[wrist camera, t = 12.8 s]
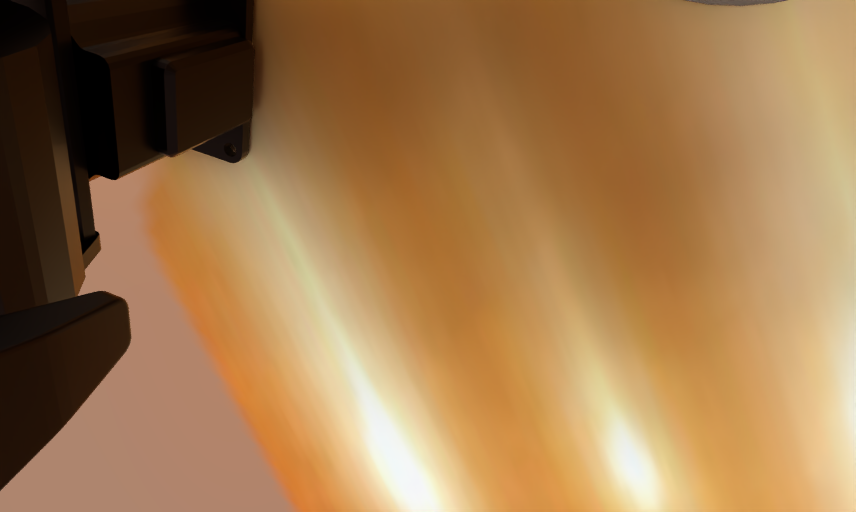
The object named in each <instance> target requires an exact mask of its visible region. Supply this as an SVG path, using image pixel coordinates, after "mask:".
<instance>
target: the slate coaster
mask: <svg viewBox="0 0 856 512" xmlns="http://www.w3.org/2000/svg"><path fill="white" fill-rule="evenodd" d="M687 1H692V2H698V3H703V4H711V5H735V6H744V5H755V4H767V3H776V2H781V1H786V0H687Z"/></svg>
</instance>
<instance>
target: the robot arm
mask: <svg viewBox="0 0 856 512" xmlns="http://www.w3.org/2000/svg"><path fill="white" fill-rule="evenodd" d="M253 6H254V0H0V491H1V490H2V489H3V488H4V487H5V486H6V485H7V484H8V483H9V481H10V480H11V479H12V478H14V477H15V475H16V474H17V473H18V472H20V470H22V469H23V468H24V466H26V465H27V463H28V462H29V461H30V460H31V459H32V458H33V457H34V456H35V455H36V454H37V453H38V452H39V451H40V450H41V449H42V448H43V447H44V446H45V445H46V444H47V443H48V442H49V441H50V440H51V439H52V438H53V437H54V436H55V435H56V434H57V433H58V432H59V431H60V430H61V429H62V428H63V427H64V425H65V424H66V423H67V422H68V421H69V420H70V419H71V418H72V416H73V415H74V414H75V413H76V412H77V410H78V409H79V408H80V407H81V406H82V404H83V403H84V402H85V401H86V400H87V398H88V397H89V396H90V395H91V393H92V392H93V391H94V390H95V389H96V387H97V386H98V385H99V384H100V383H101V381H102V380H103V379H104V378H105V377H106V375H107V374H108V373H109V372H110V370H111V369H112V368H113V367H114V365H115V364H116V363H117V362H118V361H119V360H120V358H121V357H122V356H123V355H124V353H125V352H126V351H127V349H128V347H129V345H130V341H131V328H130V319H129V307H128V304H127V302H126V301H125V299H123V298H121V297H119V296H116V295H114V294H111V293H109V292H106V291H97V292H93V293H89V294H85V295H81V296H78V294H79V291H80V289H81V286H82V284H83V282H84V279H85V269H86V268H87V266H88V265H89V264H90V263H91V261H92V260H93V259H94V258H95V256H96V255H97V254H98V253H99V252H100V250H101V244H100V236H99V233H98V232H97V231H95V227H94V218H93V210H92V202H91V194H90V186H89V181H91V180H94V179H95V178H98V177H100V176H103V177H105V178H108V179H111V180H117V179H119V178H121V177H123V176H125V175H127V174H130V173H132V172H134V171H136V170H138V169H140V168H142V167H144V166H146V165H149V164H151V163H153V162H155V161H157V160H159V159H161V158H163V157H166V156H168V157H176V156H178V155H180V154H182V153H184V152H186V151H188V150H190V149H192V150H195V151H198V152H201V153H204V154H207V155H210V156H213V157H216V158H219V159H221V160H224V161H227V162H230V163H236V162H239V161H240V160H242V159H244V158H245V157H246V156H247V155H248V150H249V121H250V119H251V118H252V108H253V81H254V54H255V50H254V47H253V44H252V35H253ZM230 144H232V145H234V147H235V148H236V152H234V151H233V150H232V148H231V145H230Z"/></svg>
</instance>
